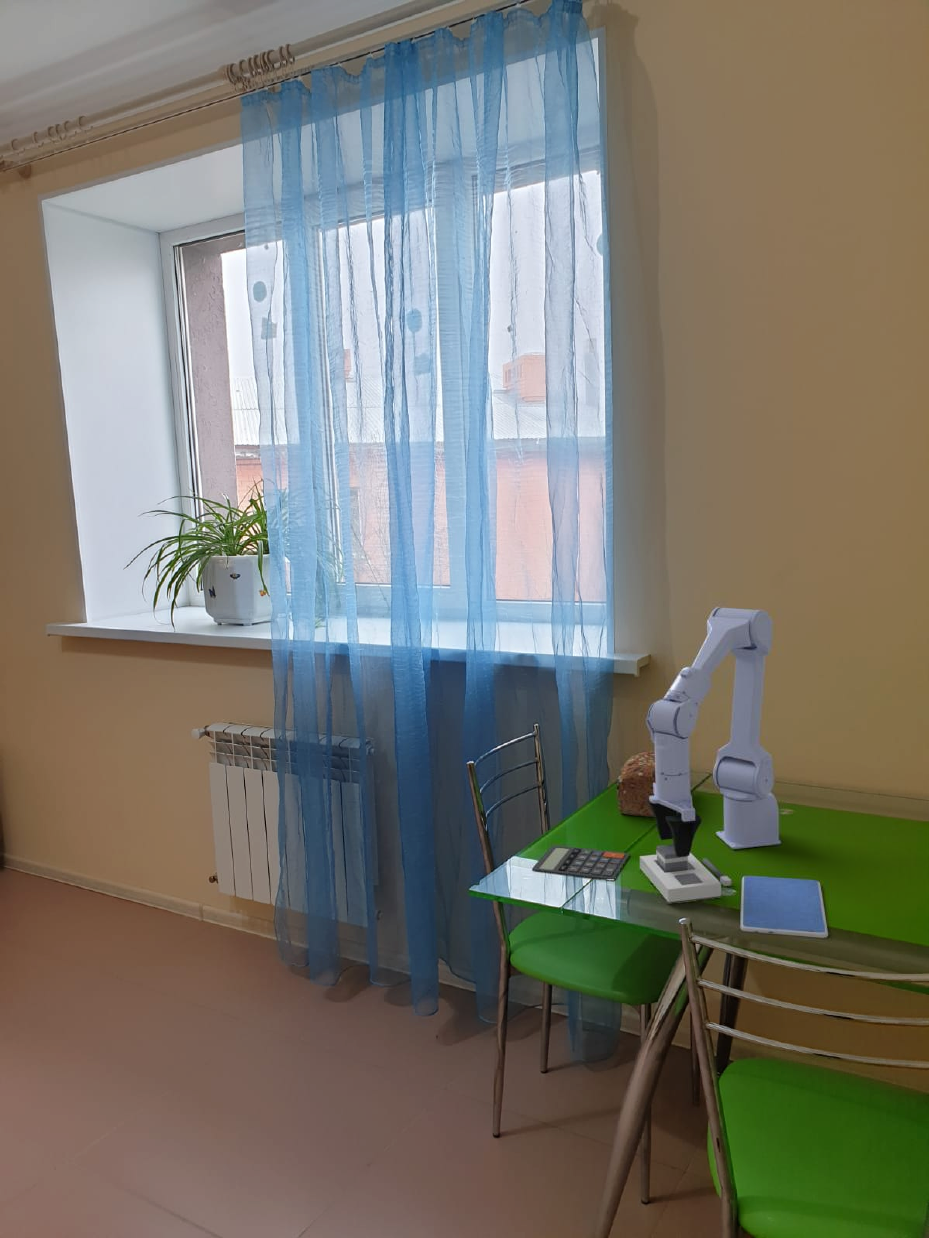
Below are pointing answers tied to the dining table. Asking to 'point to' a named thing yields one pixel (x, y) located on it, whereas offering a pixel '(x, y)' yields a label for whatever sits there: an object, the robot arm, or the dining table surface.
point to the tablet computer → (782, 906)
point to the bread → (637, 784)
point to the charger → (670, 859)
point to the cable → (717, 873)
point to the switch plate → (682, 880)
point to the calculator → (581, 862)
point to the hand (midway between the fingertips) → (674, 847)
